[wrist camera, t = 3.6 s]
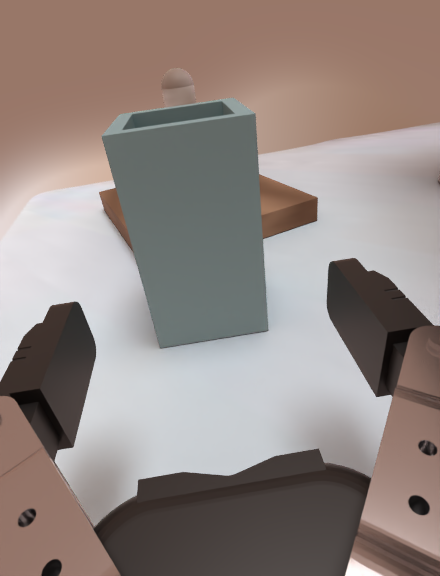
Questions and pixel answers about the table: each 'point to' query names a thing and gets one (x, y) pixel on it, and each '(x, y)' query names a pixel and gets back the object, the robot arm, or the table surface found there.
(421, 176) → the table surface
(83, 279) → the table surface
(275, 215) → the peg board
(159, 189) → the collar
